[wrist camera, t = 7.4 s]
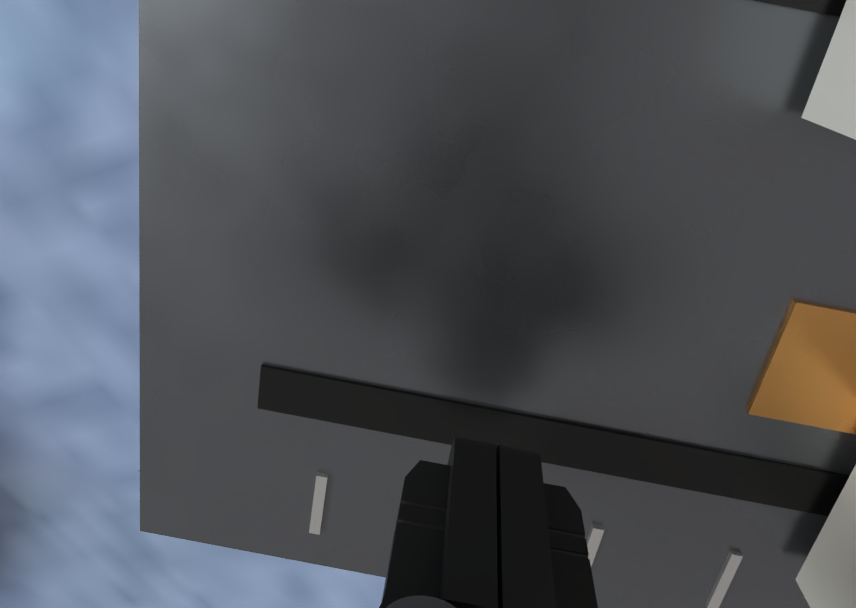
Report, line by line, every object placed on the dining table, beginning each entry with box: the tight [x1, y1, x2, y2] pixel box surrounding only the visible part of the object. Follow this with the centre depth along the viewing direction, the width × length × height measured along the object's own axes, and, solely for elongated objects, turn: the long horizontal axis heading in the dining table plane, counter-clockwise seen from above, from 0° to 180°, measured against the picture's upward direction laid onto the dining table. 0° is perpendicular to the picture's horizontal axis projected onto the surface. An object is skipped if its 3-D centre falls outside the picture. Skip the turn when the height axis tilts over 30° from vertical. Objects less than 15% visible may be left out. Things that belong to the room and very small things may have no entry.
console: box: [139, 0, 856, 608], centre depth 13 cm, size 18×20×2 cm
